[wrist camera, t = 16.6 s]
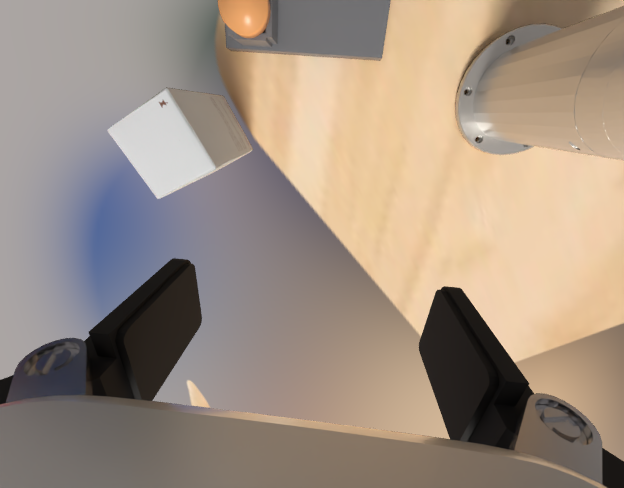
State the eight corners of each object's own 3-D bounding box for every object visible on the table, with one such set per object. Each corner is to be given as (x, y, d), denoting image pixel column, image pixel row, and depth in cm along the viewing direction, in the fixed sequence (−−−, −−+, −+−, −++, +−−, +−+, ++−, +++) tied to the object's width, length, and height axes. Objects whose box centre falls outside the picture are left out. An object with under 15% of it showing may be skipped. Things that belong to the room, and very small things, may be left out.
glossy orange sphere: (277, -8, 27) (266, -29, 23) (276, 46, 29) (266, 35, 25) (233, -10, 27) (215, -32, 23) (236, 44, 29) (219, 32, 25)
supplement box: (177, 122, 35) (101, 126, 24) (224, 94, 33) (166, 83, 22) (210, 175, 38) (155, 201, 26) (255, 151, 36) (217, 168, 24)
